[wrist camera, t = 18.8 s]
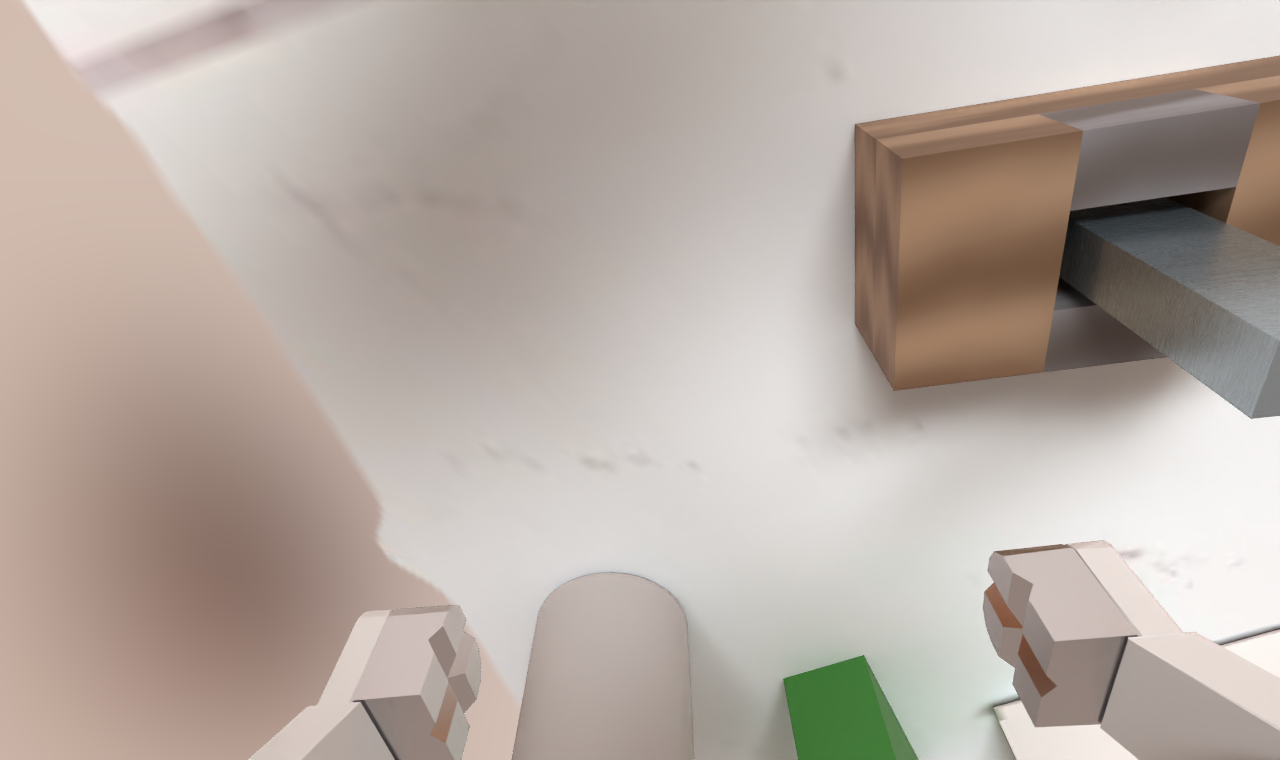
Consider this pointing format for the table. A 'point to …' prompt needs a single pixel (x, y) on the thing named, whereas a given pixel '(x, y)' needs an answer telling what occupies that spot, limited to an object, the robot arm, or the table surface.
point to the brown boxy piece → (1042, 213)
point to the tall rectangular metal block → (1186, 292)
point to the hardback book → (844, 715)
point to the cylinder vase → (607, 674)
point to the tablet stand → (1087, 751)
